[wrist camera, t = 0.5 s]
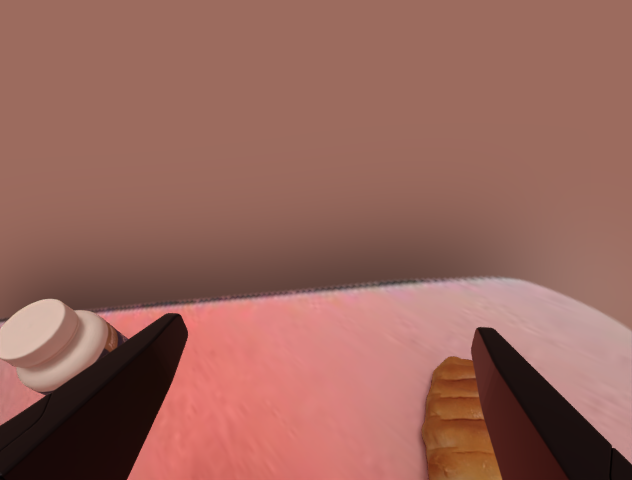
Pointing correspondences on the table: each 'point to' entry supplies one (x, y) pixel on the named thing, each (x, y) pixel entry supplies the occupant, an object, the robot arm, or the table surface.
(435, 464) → the pastry
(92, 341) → the pill bottle
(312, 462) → the table surface
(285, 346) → the table surface
